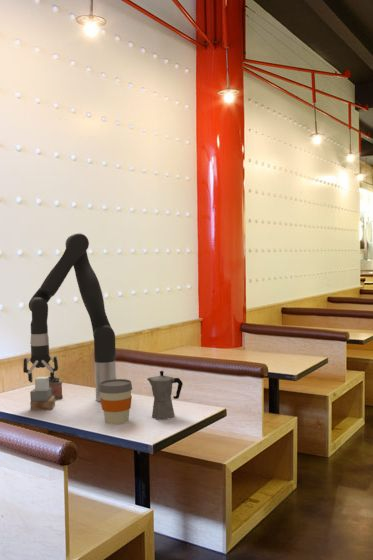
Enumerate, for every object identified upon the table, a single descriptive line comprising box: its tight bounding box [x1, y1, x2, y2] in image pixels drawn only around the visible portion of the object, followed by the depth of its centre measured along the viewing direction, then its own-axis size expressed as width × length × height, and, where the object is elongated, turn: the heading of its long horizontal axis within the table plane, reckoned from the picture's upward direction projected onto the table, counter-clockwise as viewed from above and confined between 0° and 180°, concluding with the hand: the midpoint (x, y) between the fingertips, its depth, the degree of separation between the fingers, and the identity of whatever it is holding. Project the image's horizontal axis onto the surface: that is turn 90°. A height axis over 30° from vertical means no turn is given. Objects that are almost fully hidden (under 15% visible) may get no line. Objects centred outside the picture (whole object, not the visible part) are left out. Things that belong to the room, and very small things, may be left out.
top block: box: [34, 376, 50, 391], centre depth 240 cm, size 5×5×5 cm
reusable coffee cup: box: [99, 378, 133, 425], centre depth 216 cm, size 13×13×15 cm
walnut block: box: [29, 396, 56, 412], centre depth 241 cm, size 9×9×4 cm
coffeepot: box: [146, 370, 184, 420], centre depth 220 cm, size 15×9×18 cm, turn 66°
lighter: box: [48, 375, 64, 400], centre depth 255 cm, size 8×3×10 cm, turn 84°
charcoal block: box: [29, 388, 52, 402], centre depth 240 cm, size 7×7×4 cm
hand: (41, 381), depth 240 cm, fingers open, 8 cm apart
